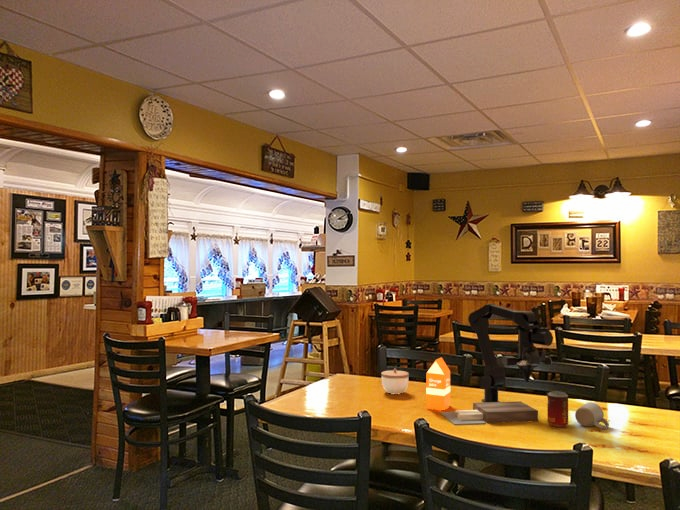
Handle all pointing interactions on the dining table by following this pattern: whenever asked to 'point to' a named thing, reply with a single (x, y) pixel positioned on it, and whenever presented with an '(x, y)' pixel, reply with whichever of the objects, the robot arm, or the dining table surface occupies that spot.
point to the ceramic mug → (591, 415)
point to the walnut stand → (506, 412)
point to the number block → (468, 414)
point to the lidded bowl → (395, 381)
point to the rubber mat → (456, 421)
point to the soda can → (557, 409)
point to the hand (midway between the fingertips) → (526, 381)
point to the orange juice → (438, 386)
